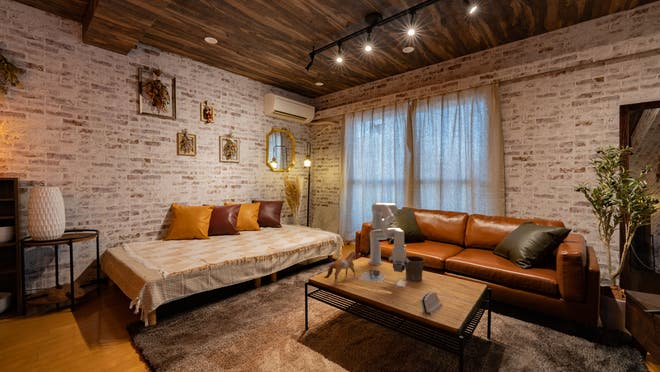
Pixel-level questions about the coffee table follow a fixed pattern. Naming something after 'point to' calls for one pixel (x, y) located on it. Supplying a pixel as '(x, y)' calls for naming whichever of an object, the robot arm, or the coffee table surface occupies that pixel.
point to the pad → (401, 283)
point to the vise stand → (372, 276)
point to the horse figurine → (342, 266)
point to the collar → (398, 267)
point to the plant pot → (414, 268)
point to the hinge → (430, 303)
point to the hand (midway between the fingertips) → (398, 269)
